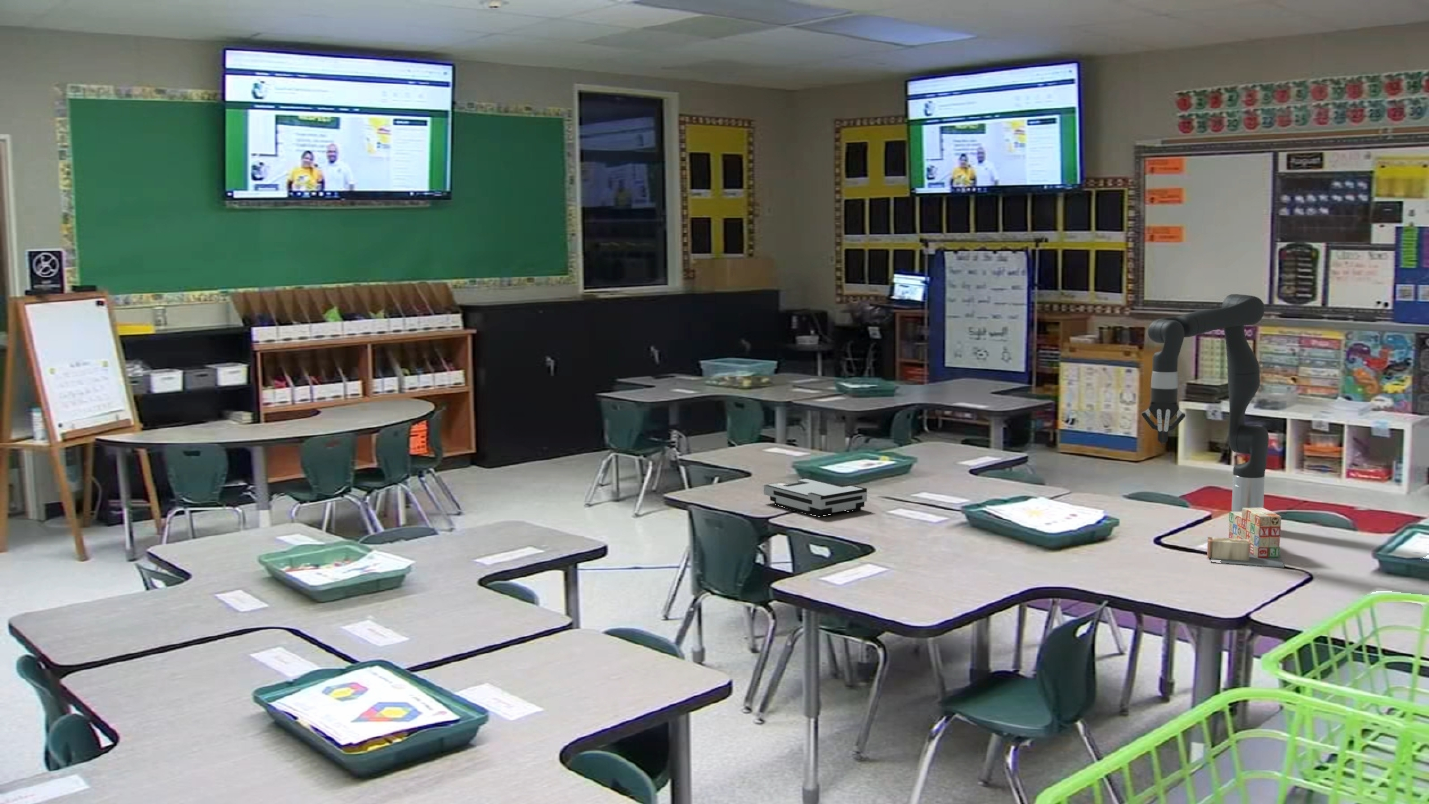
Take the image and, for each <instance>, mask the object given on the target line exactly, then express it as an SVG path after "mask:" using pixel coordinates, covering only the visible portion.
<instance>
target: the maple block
mask: <svg viewBox="0 0 1429 804" xmlns="http://www.w3.org/2000/svg"><path fill="white" fill-rule="evenodd" d="M1206 553H1207V554H1206V555H1207V559H1210V558H1217V559H1231V560H1246V561H1249V553H1250V542H1249V540H1247V539H1231V538H1229V537H1228V538H1227V537H1213V536H1207V550H1206Z"/></svg>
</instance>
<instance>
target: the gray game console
mask: <svg viewBox="0 0 1429 804" xmlns="http://www.w3.org/2000/svg"><path fill="white" fill-rule="evenodd" d="M763 495H764V496H768V497H769V501H770V502H774V503H773V505H774V504H776V505H779V506H783V507H785V508H788V509H787V510H789V509H791V510H790V511H792V510H795V511H794V512H796V511H798V512H797V513H800V512H803V513H806V514H805V515H807V514H812V515H816V516H823V515H828V514H832V515H833V513H838V512H845V511H844V510H846V511H852V510H858V511H861V510H862V508H865V502H867V501H868V489H867V488H866V487H862V486H858V485H849V486H843V485H838V484H835V483H830V482H827V481H823V480H818V479H813V478H803V479H802V478H801V479H797V482H796V483H794V482H793V483H788V484H778V483H771V484H770V483H769V484H765V485H763ZM785 508H784V509H785ZM803 513H802V514H803Z"/></svg>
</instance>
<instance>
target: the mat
mask: <svg viewBox="0 0 1429 804" xmlns="http://www.w3.org/2000/svg"><path fill="white" fill-rule="evenodd" d="M1211 560H1221V561H1220V562H1221V563H1229V564H1228V565H1234V564H1247V565H1246V566H1248V565H1257V566H1256V567H1262V566H1265V567H1264V568H1266V567H1267V568H1277V569H1278V568H1279V569H1284V568H1285V566H1284V565H1285V564H1284V562H1283V559H1282V557H1281V554H1279V557H1256V556H1255V555H1253V554H1251V553H1250V552H1249V561H1246V560H1231V559H1217V558H1211V559H1210V563H1211V562H1212V561H1211Z"/></svg>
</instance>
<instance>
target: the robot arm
mask: <svg viewBox="0 0 1429 804" xmlns="http://www.w3.org/2000/svg"><path fill="white" fill-rule="evenodd" d="M1265 310H1266V307H1265V304H1264V302H1263V300H1262V299H1261V298H1259V297H1258V296H1255V295H1249V294H1248V295H1247V294H1240V293H1239V294H1237V293H1232V294H1228V295H1227V296H1226V297H1225V298H1224V299H1223V301H1222V304H1221V307H1220V308H1210V309H1200V310H1196V311H1192V312H1189V313H1185V314H1182V315H1178V316H1170V317H1169V316H1168V317H1163V318H1158V319H1155V320H1154V321H1152V322H1151V323H1150V325H1149V326H1148V329H1147V335H1148V338H1149V339H1150V340H1151V341H1152V342H1154V343H1157V344H1163V346H1162V349H1161V350H1159V351H1156V352H1154V354H1153V356H1152V371H1151V378H1150V379H1151V380H1150V381H1151V382H1150V404H1149V405H1148V408H1147V409H1146V410H1145V411H1142V412H1141V416H1142V417H1143V419H1144V420H1145V421H1146V423H1148V426H1150V428H1151V429H1152V430H1156V431H1157V441H1158V442H1159V443H1160V445H1161V444H1162V445H1164V444H1166V443H1167V442H1168V441H1169V431H1173V430H1175V429H1176V428H1177V426H1178V425H1180V423H1181V422H1182V421H1183V420H1184V419H1185V418H1186V413H1185V412H1183V411H1181V410H1180V408H1179V405H1178V389H1179V388H1178V387H1179V378H1178V377H1179V376H1178V365H1179V364H1178V359H1179V355H1180V352H1181V350H1182V346H1183V343H1184V340H1185V338H1190V337H1191V338H1192V337H1195V336H1198V335H1202V334H1205V333H1209V332H1214V331H1216V330H1222V329H1223V333H1224V338H1225V339H1224V340H1225V348H1226V350H1225V351H1226V361H1227V362H1226V363H1227V364H1226V365H1227V366H1226V369H1227V370H1226V371H1227V386H1228V387H1227V388H1228V403H1229V410H1228V411H1229V412H1228V413H1229V415H1228V433H1227V434H1228V437H1227V438H1228V446H1229V448H1230V450H1231V452H1233V453H1236V454H1237V453H1238V454H1243V455H1249V460H1248V461H1247V462H1243V463H1239V464H1235V465H1234V466H1233V468H1232V490H1231V491H1232V495H1231V512H1242V508H1264V505H1265V504H1264V503H1265V502H1264V500H1265V499H1264V498H1265V497H1264V496H1265V477H1266V469H1267V463H1268V451H1269V444H1270V443H1269V442H1270V441H1269V440H1270V438H1269V431H1268V430H1267V428H1266V427H1264V426H1262V425H1261V426H1260V425H1254V424H1246V422H1245V421H1246V420H1245V419H1246V418H1245V417H1246V412H1247V411H1246V410H1247V408H1248V406H1249V404H1250V403H1251V402H1252V400H1253V398H1254V397H1255V396H1256V394H1257V392H1258V391H1259V389H1260V386H1261V385H1260V384H1261V376H1260V371H1261V370H1260V363H1259V360H1258V359H1257V357H1256V354H1255V352H1254V351H1253V350H1252V348H1251V346H1250V344H1249V342H1248V341H1247V337H1246V332H1245V326H1252V325H1253V326H1254V325H1255V324H1258V323H1260V321H1261V320H1262V319H1263V317H1264V315H1265ZM1151 414H1152V416H1153V417H1154V418H1155V420H1157V421H1156V422H1157V424H1155V422H1154V421H1153V419H1151ZM1175 416H1176V418H1175V420H1174V421H1173V422H1172V423H1171V424H1170V420H1172V419H1173V418H1174V417H1175ZM1163 420H1164V424H1163ZM1163 425H1164V426H1163Z"/></svg>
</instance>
